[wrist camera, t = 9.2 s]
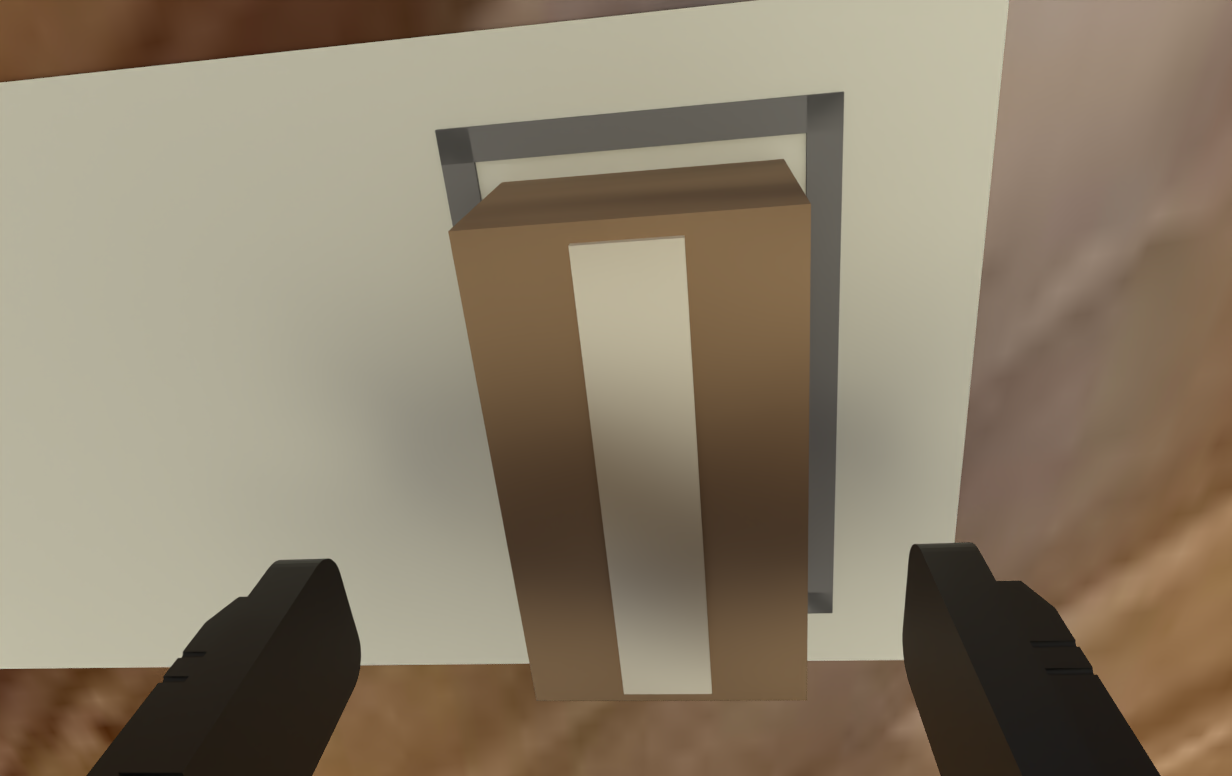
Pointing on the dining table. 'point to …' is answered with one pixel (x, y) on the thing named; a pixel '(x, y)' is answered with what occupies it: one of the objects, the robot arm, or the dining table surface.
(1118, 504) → the dining table surface
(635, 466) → the card box
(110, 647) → the mat
